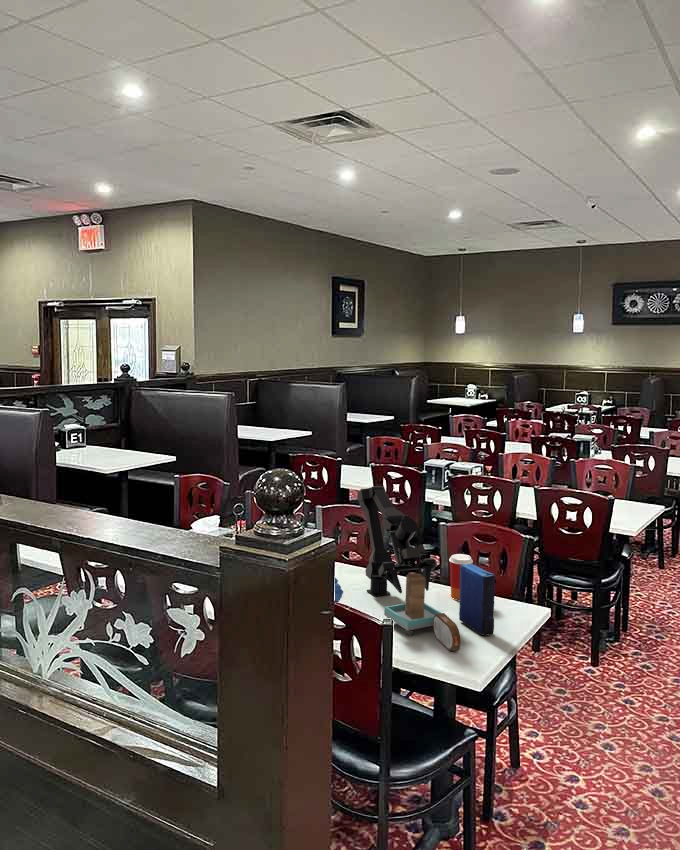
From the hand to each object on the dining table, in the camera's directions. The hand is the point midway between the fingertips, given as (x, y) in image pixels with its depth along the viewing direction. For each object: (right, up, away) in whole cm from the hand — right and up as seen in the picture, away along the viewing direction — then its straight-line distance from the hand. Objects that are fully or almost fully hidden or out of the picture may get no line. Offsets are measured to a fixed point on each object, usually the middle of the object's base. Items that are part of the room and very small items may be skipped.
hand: (414, 591), depth 241 cm
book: (+20, -12, 0) cm, 23 cm away
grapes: (-26, -9, +13) cm, 31 cm away
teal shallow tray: (0, -11, +1) cm, 11 cm away
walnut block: (0, -8, +1) cm, 8 cm away
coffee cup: (+19, -9, +28) cm, 34 cm away
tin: (+8, -14, -13) cm, 20 cm away
